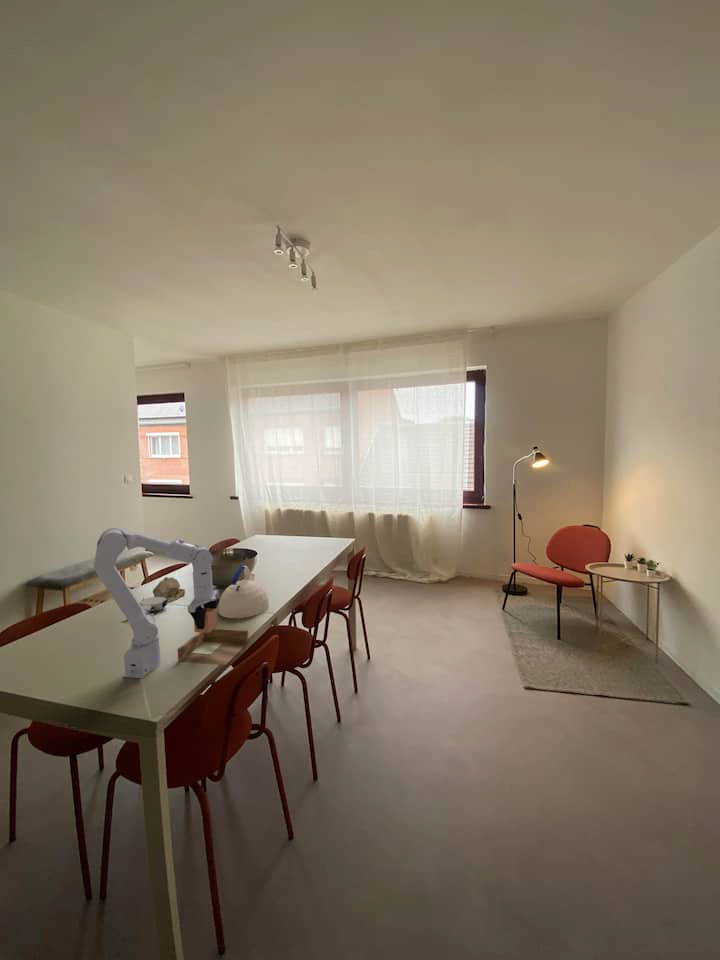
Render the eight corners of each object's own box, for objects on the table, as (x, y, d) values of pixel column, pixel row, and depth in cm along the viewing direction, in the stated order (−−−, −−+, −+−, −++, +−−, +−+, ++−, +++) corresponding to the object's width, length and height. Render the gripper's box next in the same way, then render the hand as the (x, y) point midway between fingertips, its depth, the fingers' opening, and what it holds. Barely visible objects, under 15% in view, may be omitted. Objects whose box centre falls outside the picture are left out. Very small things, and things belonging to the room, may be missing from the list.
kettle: (275, 599, 174) (273, 559, 173) (259, 619, 153) (256, 574, 152) (231, 599, 176) (229, 559, 175) (209, 618, 156) (206, 574, 154)
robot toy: (153, 622, 156) (173, 605, 170) (152, 612, 155) (172, 595, 170) (123, 623, 156) (145, 605, 171) (122, 612, 155) (144, 595, 170)
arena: (225, 667, 119) (224, 652, 119) (178, 663, 122) (177, 648, 122) (248, 643, 134) (247, 629, 134) (205, 640, 137) (205, 627, 137)
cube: (208, 632, 126) (207, 614, 126) (194, 631, 127) (193, 613, 127) (217, 626, 131) (216, 608, 131) (203, 625, 132) (202, 607, 131)
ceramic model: (161, 606, 170) (159, 583, 170) (145, 602, 176) (143, 580, 175) (189, 595, 183) (187, 574, 182) (173, 592, 188) (172, 571, 187)
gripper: (201, 592, 120) (203, 635, 121) (225, 577, 134) (228, 616, 135) (180, 591, 121) (183, 634, 122) (207, 576, 136) (209, 615, 137)
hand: (205, 624), depth 129 cm, fingers closed on cube, 5 cm apart
